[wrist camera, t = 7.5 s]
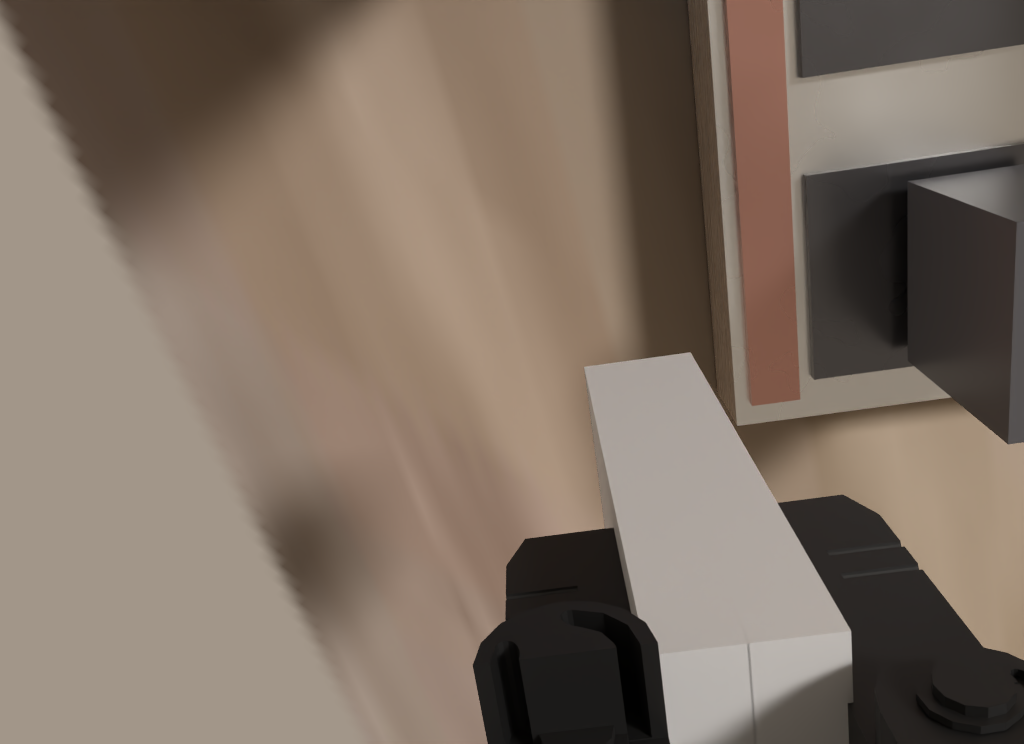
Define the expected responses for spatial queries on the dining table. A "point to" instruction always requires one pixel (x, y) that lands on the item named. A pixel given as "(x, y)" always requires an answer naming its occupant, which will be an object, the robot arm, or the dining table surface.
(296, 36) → the dining table surface
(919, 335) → the breaker
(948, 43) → the panel
